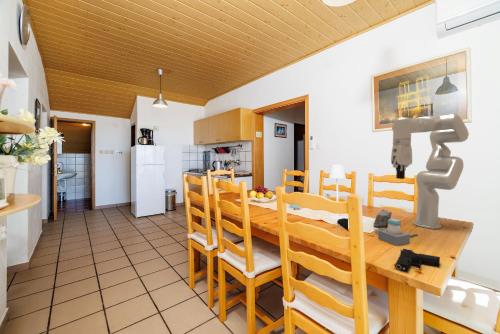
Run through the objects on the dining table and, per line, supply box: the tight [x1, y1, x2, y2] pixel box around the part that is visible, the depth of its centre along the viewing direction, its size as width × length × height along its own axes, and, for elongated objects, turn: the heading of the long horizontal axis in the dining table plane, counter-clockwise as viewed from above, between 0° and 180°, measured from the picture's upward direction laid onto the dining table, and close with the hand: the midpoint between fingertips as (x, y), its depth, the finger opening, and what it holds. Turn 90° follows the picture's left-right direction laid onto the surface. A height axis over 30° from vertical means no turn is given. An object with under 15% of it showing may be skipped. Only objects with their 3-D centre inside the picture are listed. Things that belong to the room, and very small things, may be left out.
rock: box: [373, 209, 393, 228], centre depth 126 cm, size 16×8×10 cm, turn 122°
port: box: [377, 228, 411, 247], centre depth 104 cm, size 9×9×4 cm
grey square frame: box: [374, 227, 387, 235], centre depth 112 cm, size 7×7×2 cm
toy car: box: [336, 217, 349, 231], centre depth 123 cm, size 8×17×5 cm, turn 5°
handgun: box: [393, 248, 441, 273], centre depth 80 cm, size 3×17×12 cm
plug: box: [387, 218, 402, 235], centre depth 103 cm, size 4×4×10 cm
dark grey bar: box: [410, 233, 419, 239], centre depth 108 cm, size 11×1×1 cm, turn 112°
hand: (400, 178), depth 112 cm, fingers closed
